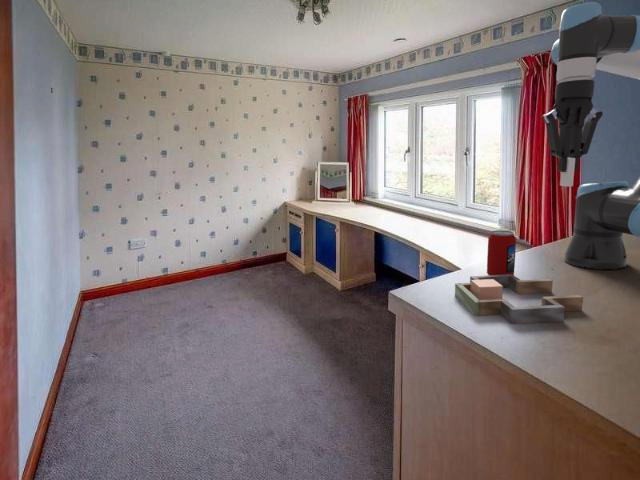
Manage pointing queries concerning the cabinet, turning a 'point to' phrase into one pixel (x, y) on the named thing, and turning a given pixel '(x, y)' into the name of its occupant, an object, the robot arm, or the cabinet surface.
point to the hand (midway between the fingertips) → (566, 185)
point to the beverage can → (501, 253)
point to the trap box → (546, 312)
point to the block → (486, 289)
